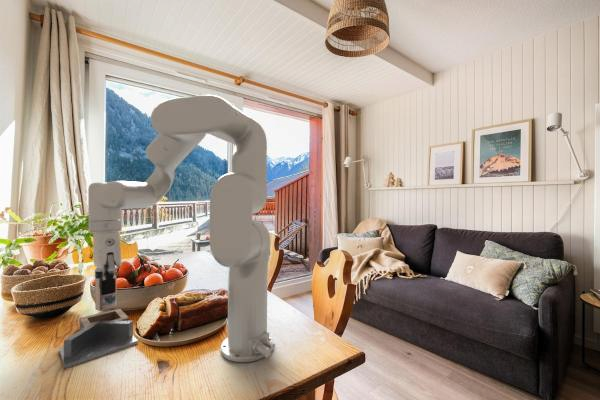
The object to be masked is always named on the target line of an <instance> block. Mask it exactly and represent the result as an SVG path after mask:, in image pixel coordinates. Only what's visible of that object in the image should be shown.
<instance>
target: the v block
mask: <svg viewBox="0 0 600 400" xmlns="http://www.w3.org/2000/svg"><path fill="white" fill-rule="evenodd" d="M133 322H134V320H129V321H97V322H93V323H92V324H89V325H88V326H86V327H85V328H83V329H81V330H80V329H79V330H78V331H77V332H75V333H73V334H72V335H71V336H69V337H67V338H65V339H64V340H63V347H59V349H58V352H59V356H60V359H61V362H62V365H63V369H64V370H66V369H68V368H69V369H70V368H72V367H74V366H77V365H80V364H83V363H86V362H88V361H92V360H94V359H97V358H100V357H103V356H107V355H108V354H112V353H115V352H118V351H121V350H124V349H126V348H129V347H132V346H135V345H138V344H139V340H138V339H137V337H135V336H134V333H133V332H134V331H133V330H134V323H133Z"/></svg>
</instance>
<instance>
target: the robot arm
mask: <svg viewBox="0 0 600 400" xmlns="http://www.w3.org/2000/svg"><path fill="white" fill-rule="evenodd" d="M150 122H151V126H152V128H153V130H154V131H155V132H156V133H158V134H157V136H155V138H153V140H152V141H151V142H150V143H149V144H148V145H147V147H146V149H145V154H146V156H147V158H148V159H149V161H150V162H151V163H152V164H153V165H154V166H155V168H154V170H153V172H152V174H151V175H150V176H149V177H148V178H147V179H146V180H145V181H144V182H142V181H131V180H130V181H129V180H128V181H127V180H113V181H109V182H105V181H103V182H92V183H90V184H89V185H88V188H87V189H88V190H87V191H88V194H87V195H88V199H87V200H88V201H87V202H88V206H87V207H88V233H89V234H93V237H92V238H93V242H92V243H93V244H92V247H93V248H92V253H93V255H92V256H93V264H94V266H95V267H96V268H97V267H98V268H100V269H102V280H101V295H107V294H111V293H115V292H116V293H117V277H116V278H115V267H116V268H120V267H121V266H122V249H121V248H122V247H121V246H122V245H121V237H120V232H122V230H123V229H122V228H123V227H122V226H123V225H122V223H123V220H122V214H123V213H122V210H125V209H126V210H127V209H128V210H129V209H147V208H151V207H153V206H155V205H157V203H158V202H159V201H161V200H162V198H164V196H166V195H167V193H168V192H169V191H170V189H171V187H172V186H173V183H174V178H175V176H176V175H175V174H176V172H175V171H176V169H177V167H178V166H179V165H180V164H181V163H182V162H183V161H184V160H185V159H186V158H187V156H188V155H190V153H192V151H193V150H194V149H195V148H196V147H197V146H198V145H199V144H200V143H201V142H202V140H203V139H205V137H206V136H207V134H208V135H211V136H214V137H216V138H218V139H221V140H223V141H226V142H227V143H231V144H232V145H234V148H233V151H232V156H231V172H229V173H225V174H223V175H221V176H220V177H218V179H217V180H216V181H215V183H214V184H213V186H212V188H211V192H210V197H209V249H210V253H211V255H212V256H213V259H214V260H215V262H217V264H219V265H220V266H221V267H224V268H228V269H229V270H228V278H227V279H228V281H227V282H228V283H227V286H228V287H227V288H228V289H227V338H225V339H224V340H223V341H222V343H221V346H220V352H221V354H222V356H223V357H224V358H225V359H226V360H228V361H231V362H235V363H250V362H255V361H259V360H261V359H263V358H265V359H267V358H269V357H270V356H271V355H272V351H273V350H274V349H275V348H276V344H275V343H274V340H273V338H272V337H271V335H270V332H269V331H268V283H269V282H268V277H269V275H268V274H269V273H268V272H269V259H270V252H271V251H270V250H271V235H270V232H269V230H268V227H267V226H266V225H265V224H264V223H262V222H261V221H259V220H255V219H253V215H254V214H257V213H259V212H260V211H261V210H263V209H264V207H265V206H266V204H267V199H268V197H267V196H268V195H267V194H268V190H267V189H268V188H267V186H268V185H267V184H268V181H267V180H268V177H267V176H268V173H267V172H268V168H267V167H268V166H267V165H268V164H267V160H268V159H267V155H268V152H267V151H268V146H267V145H268V142H267V136H266V132H265V130H264V128H263V126H262V125H261V124H260V123H259V122H258V121H257V120H255V119H254V118H252V117H250V116H249V115H247V114H246V113H244V112H243V111H241V110H240V109H238V108H237V107H235V106H234V105H233V104H231V102H229V101H228V100H226V99H224V98H223V97H221V96H218V95H213V94H201V95H193V96H192V95H191V96H183V97H174V98H169V99H166V100H163V101H161V102H160V103H158V104H157V105H156V106H155V107H154V108H153V110H152V111H151V114H150ZM104 266H108V268H105V267H104ZM106 270H108V271H106ZM105 271H106V274H105Z"/></svg>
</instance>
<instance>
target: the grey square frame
mask: <svg viewBox="0 0 600 400" xmlns="http://www.w3.org/2000/svg"><path fill="white" fill-rule="evenodd" d="M97 321H130V317H129V316H128V315H127V314H126V313H125V312H124V311H123V310H122V308H120V309H119V308H115V309H110V310H106V311H101V312H99V313H95V314H91V315H88V316H84V317H79V325H78V327H79V331H80V330H81V329H83V328H85V327H86V326H88V325H89V324H92V323H93V322H97Z"/></svg>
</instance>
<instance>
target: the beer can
mask: <svg viewBox="0 0 600 400" xmlns="http://www.w3.org/2000/svg"><path fill="white" fill-rule="evenodd" d="M104 267H105V268H108V266H104ZM106 271H108V270H106ZM106 271H105V274H106ZM115 278H116V279H117V266H115ZM101 280H102V269H100V268H98V267H97V266H96V268H95V270H94V295H95V296H94V297H95V299H94V300H95V301H94V306H95V307H94V308H95V310H96V311H99V312H106V311H110V310H113V308H115V307H116V306H117V291H116V292H115V293H111V294H107V295H101Z"/></svg>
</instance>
